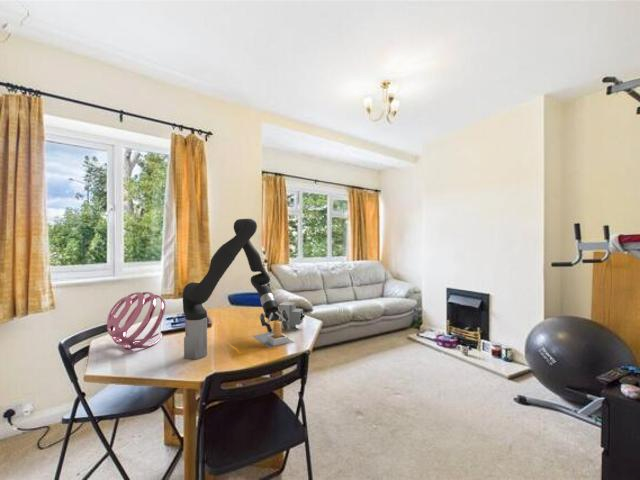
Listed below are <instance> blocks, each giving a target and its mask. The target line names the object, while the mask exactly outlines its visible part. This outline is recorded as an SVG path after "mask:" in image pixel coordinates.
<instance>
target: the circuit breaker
mask: <svg viewBox="0 0 640 480" xmlns="http://www.w3.org/2000/svg"><path fill="white" fill-rule="evenodd" d="M278 309H279V311H280V312H282V311H283V310H285V312H286V314H287V316H288V318H289V319H288V321H287V322H286V323H287V326H288V327H287V329H286V330H293V329H294V328H296V327H297V326H300V325H301V324H302V323H303V322H304V318H305V316H306V315H305V314H304V311H303V310H304V309H303V308H297V303H296V302H294V301H293V302H291V301H288V302H287V301H285V302H284V301H283V302H281V303H279V304H278ZM280 315H281V314H280ZM281 316H282V315H281ZM282 330H285V329H284V327H283V323H282Z"/></svg>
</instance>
